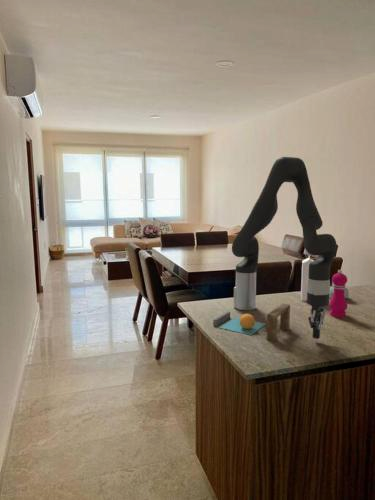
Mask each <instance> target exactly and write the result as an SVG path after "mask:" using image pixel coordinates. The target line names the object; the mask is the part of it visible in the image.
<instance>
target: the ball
mask: <svg viewBox="0 0 375 500" xmlns="http://www.w3.org/2000/svg"><path fill="white" fill-rule="evenodd" d="M239 318H240V325H241V327H242V328H244V329H251V328H252V327H253V326H254V325H255V322H256V320H255V317H254V316H253V315H252V314H250V313H244V314H242V315H241V316H240V317H239Z"/></svg>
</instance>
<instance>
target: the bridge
mask: <svg viewBox="0 0 375 500" xmlns="http://www.w3.org/2000/svg"><path fill="white" fill-rule="evenodd" d="M290 315H291V304H289V303H281V304H280V305H278V306H277V307H276V308H274V309H272V310H271V311H270V312H269V313H267V321H266V322H267V323H266V327H267V328H266V329H267V330H266V340H267V341H272V342H276V341H277V340H278V317H280V320H279V329H281V330H286V331H288V330H290V319H291V317H290Z"/></svg>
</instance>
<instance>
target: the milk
mask: <svg viewBox="0 0 375 500" xmlns="http://www.w3.org/2000/svg"><path fill="white" fill-rule="evenodd" d="M313 261H315V260H314V259H312V258H311V255H308V257H307V258H305V259H303V260H302V261H301V263H302V264H301V283H300V284H301V285H300V299H301V301H302V302H307V283H308V275H309V264H310V263H311V262H313Z"/></svg>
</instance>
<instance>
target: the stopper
mask: <svg viewBox="0 0 375 500" xmlns="http://www.w3.org/2000/svg"><path fill="white" fill-rule="evenodd" d="M230 318H231V312H230V311H227V312H225V313H223V314H221V315H219V316H217V317H215V318H214V319H213V320H212V321H213V322H212V323H213V325H215V326H214V327H217V326H219V325H221V324H222V323H224V322H226V321H227V320H228V319H230ZM225 320H226V321H225ZM223 321H224V322H223ZM220 323H221V324H220ZM218 324H219V325H218ZM216 325H217V326H216Z"/></svg>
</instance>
